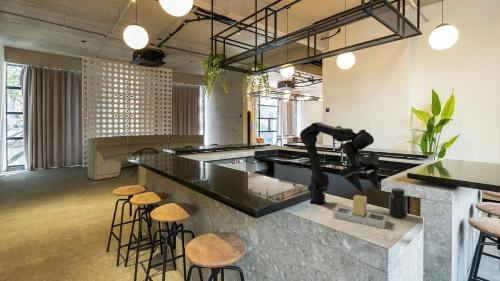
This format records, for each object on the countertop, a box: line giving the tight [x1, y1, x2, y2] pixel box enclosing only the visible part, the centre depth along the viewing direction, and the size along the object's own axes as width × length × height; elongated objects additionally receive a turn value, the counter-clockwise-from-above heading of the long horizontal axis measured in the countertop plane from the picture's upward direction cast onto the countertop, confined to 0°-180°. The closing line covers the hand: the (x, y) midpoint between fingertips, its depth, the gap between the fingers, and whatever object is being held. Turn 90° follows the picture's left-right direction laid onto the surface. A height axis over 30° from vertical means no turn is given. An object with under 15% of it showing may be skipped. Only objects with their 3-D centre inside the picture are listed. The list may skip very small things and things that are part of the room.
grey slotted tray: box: [332, 207, 388, 229], centre depth 105 cm, size 20×8×2 cm, turn 54°
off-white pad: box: [332, 203, 353, 211], centre depth 118 cm, size 10×9×1 cm
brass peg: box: [352, 194, 368, 217], centre depth 105 cm, size 4×4×10 cm
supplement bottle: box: [388, 187, 408, 220], centre depth 108 cm, size 7×7×12 cm
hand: (369, 189), depth 98 cm, fingers open, 9 cm apart
